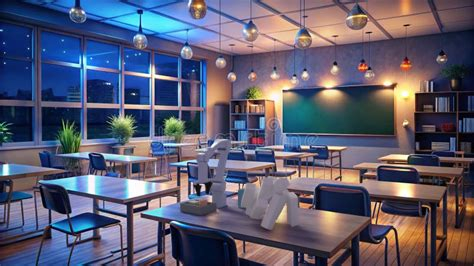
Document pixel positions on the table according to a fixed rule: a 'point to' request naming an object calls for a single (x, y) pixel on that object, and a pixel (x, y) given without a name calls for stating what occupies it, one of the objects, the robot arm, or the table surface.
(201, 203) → the terracotta cylinder
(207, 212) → the tote
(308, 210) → the table surface
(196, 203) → the sage cube
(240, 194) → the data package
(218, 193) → the robot arm
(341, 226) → the table surface
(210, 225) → the table surface
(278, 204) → the pile of blocks
